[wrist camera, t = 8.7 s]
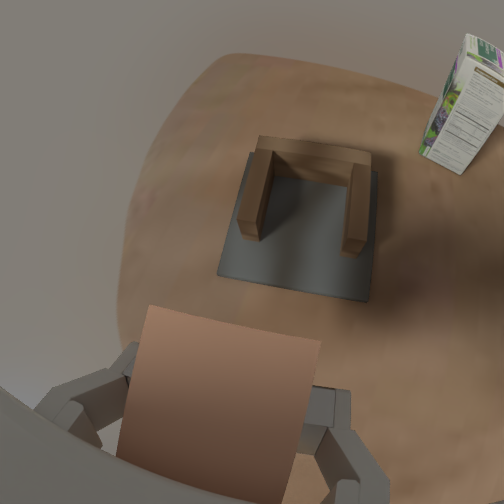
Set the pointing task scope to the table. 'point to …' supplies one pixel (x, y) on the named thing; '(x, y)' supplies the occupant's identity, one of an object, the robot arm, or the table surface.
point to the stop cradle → (304, 219)
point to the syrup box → (466, 106)
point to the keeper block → (217, 404)
